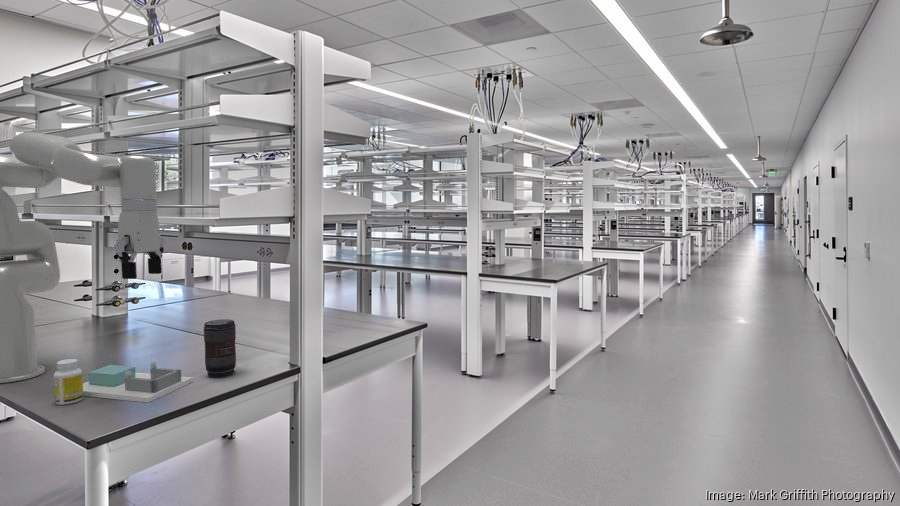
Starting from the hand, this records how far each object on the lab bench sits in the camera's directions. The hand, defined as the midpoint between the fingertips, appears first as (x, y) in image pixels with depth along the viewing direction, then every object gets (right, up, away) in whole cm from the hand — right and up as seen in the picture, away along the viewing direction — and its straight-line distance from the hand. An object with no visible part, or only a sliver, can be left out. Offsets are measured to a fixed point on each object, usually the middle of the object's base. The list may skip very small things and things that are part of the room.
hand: (142, 276), depth 125 cm
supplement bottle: (-15, -30, -4) cm, 34 cm away
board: (-6, -29, +5) cm, 30 cm away
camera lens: (+12, -29, +16) cm, 35 cm away
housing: (-12, -28, +6) cm, 31 cm away
